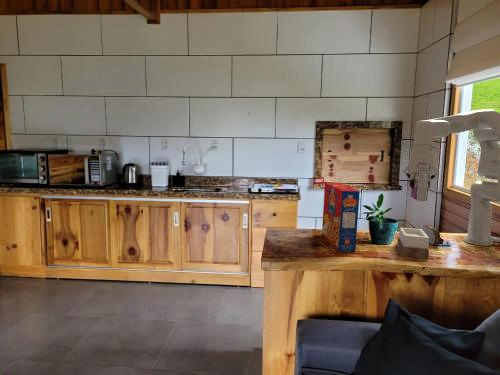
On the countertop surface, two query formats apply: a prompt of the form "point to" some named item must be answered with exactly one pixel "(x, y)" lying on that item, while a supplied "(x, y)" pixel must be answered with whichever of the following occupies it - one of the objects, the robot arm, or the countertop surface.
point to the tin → (432, 234)
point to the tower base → (412, 251)
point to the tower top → (413, 238)
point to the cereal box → (340, 216)
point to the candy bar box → (421, 182)
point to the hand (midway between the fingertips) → (419, 188)
